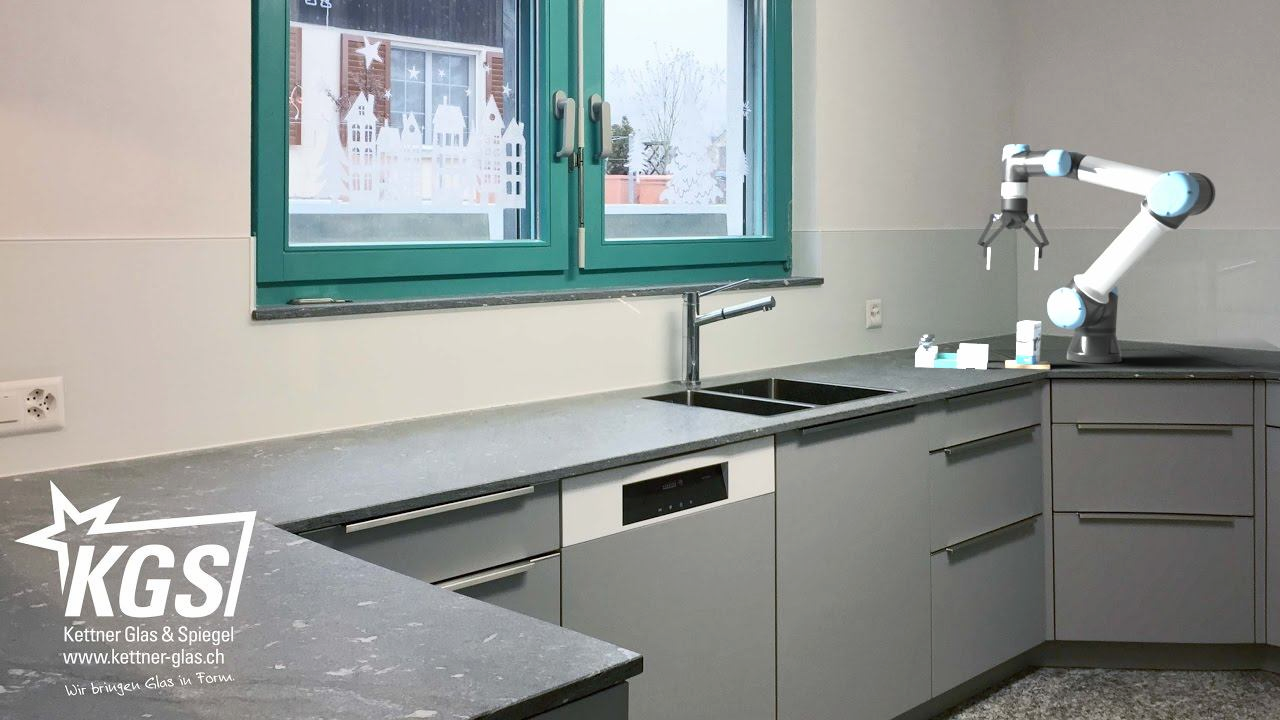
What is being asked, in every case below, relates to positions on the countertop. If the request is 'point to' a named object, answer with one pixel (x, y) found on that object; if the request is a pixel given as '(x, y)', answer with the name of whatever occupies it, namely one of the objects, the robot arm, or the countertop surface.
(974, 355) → the housing
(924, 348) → the plunger
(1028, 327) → the ink box
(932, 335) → the plunger
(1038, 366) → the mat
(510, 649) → the countertop surface
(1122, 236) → the robot arm
